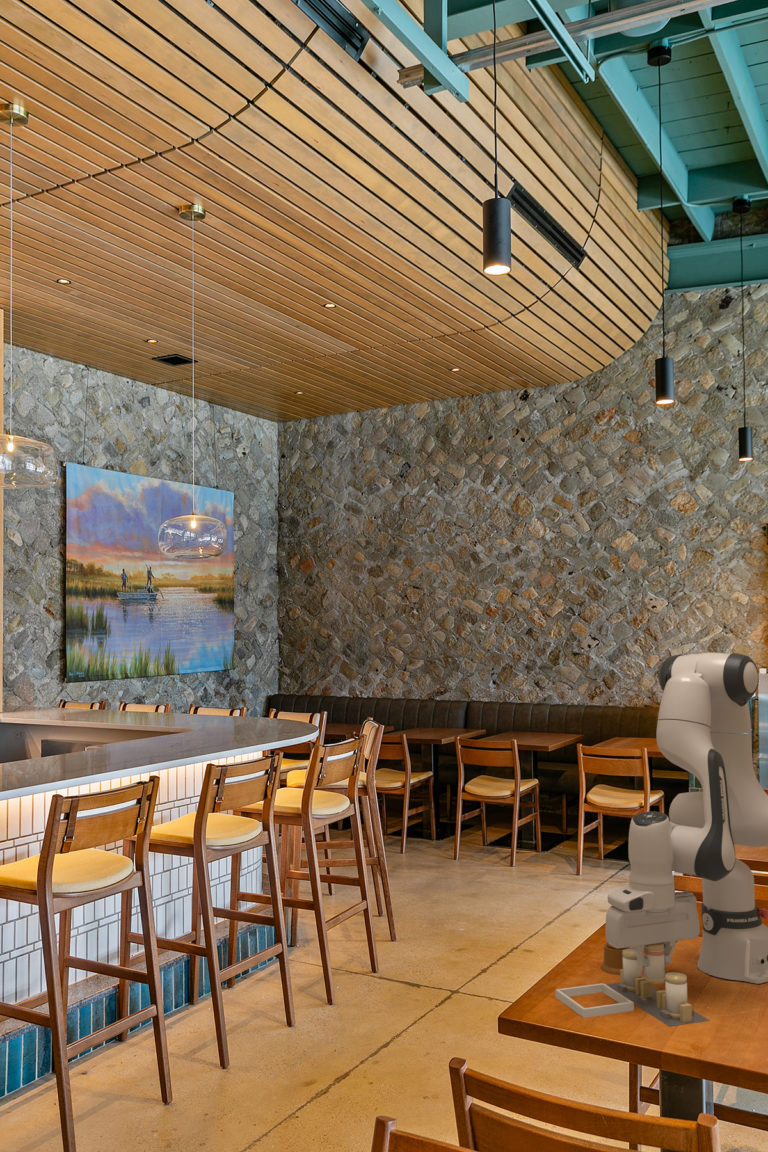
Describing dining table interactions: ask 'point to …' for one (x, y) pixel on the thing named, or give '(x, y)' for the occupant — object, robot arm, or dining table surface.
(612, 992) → the tray
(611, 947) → the ornamental finial
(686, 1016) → the fuse block
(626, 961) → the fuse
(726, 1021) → the dining table surface
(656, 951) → the marked fuse
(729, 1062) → the dining table surface
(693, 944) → the dining table surface
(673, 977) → the fuse
